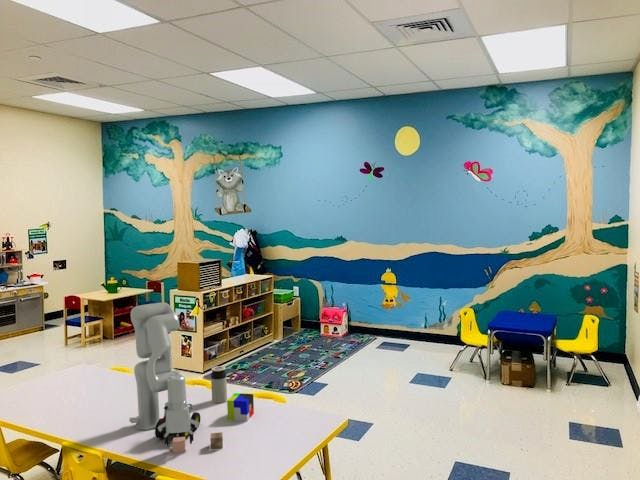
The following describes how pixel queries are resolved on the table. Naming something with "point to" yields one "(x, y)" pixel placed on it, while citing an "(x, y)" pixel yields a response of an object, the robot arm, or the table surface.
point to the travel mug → (219, 384)
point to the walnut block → (216, 440)
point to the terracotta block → (179, 444)
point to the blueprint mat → (216, 449)
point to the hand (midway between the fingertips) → (179, 443)
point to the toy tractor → (194, 416)
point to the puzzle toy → (240, 407)
